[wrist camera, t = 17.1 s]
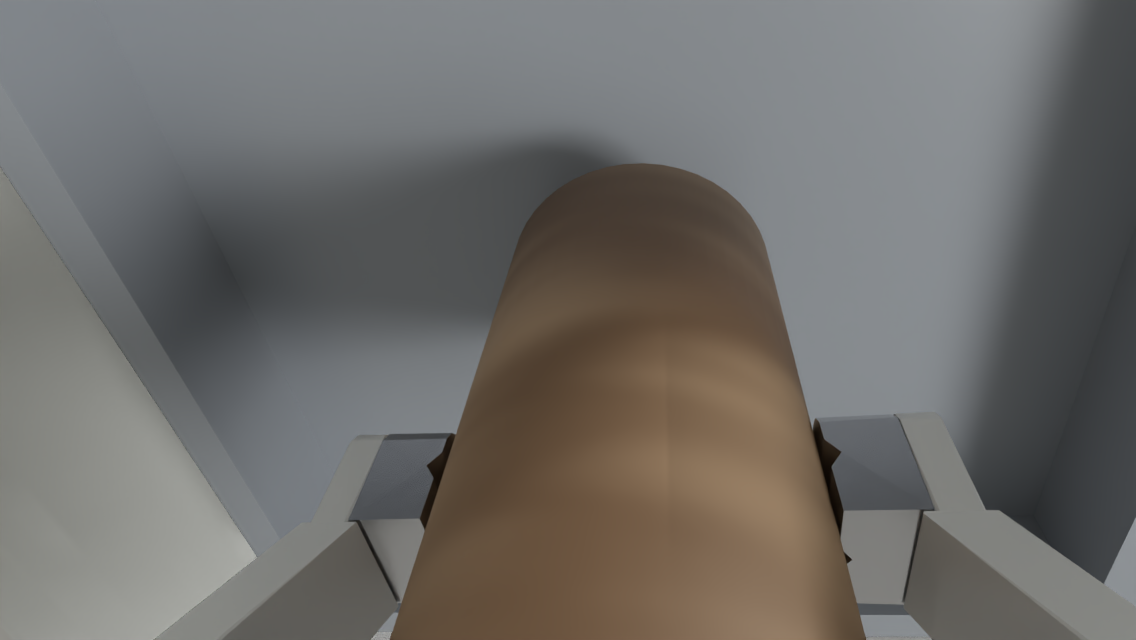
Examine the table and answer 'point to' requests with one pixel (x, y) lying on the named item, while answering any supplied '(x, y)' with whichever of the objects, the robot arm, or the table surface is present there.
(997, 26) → the tray
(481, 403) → the tan rounded cylinder
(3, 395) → the table surface
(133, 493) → the table surface
